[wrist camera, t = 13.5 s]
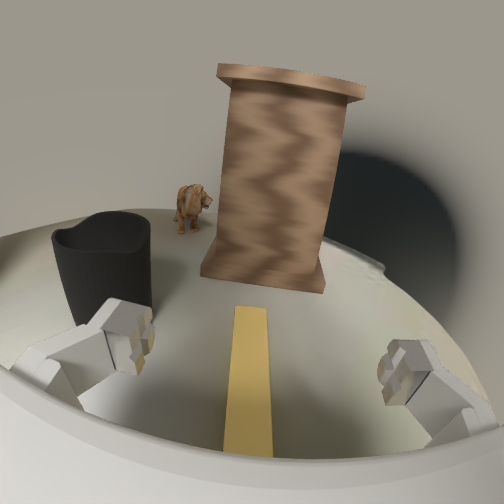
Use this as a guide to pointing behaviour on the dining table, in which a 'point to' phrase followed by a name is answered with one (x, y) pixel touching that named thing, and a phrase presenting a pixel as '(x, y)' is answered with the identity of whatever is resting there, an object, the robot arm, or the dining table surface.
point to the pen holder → (104, 262)
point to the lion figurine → (191, 205)
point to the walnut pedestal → (277, 175)
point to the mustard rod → (249, 386)
